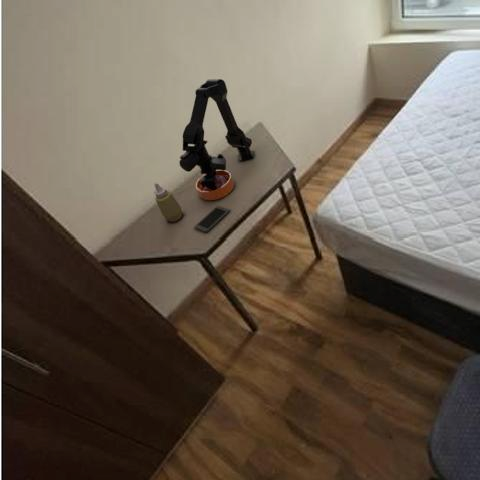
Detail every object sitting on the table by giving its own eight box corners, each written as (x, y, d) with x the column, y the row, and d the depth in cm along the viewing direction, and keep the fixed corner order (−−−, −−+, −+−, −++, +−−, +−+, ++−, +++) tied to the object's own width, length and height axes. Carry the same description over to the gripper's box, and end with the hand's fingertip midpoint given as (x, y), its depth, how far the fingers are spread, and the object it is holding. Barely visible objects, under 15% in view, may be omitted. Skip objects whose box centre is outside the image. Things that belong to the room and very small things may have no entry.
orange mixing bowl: (201, 183, 185) (197, 175, 181) (234, 175, 184) (230, 166, 181) (199, 204, 173) (194, 195, 170) (234, 195, 173) (230, 186, 169)
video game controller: (229, 189, 179) (226, 173, 177) (225, 191, 175) (221, 175, 173) (208, 191, 181) (205, 175, 179) (204, 193, 177) (201, 177, 175)
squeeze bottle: (168, 226, 166) (147, 192, 153) (164, 216, 171) (144, 183, 159) (186, 218, 168) (167, 184, 155) (182, 208, 173) (163, 174, 161)
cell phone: (194, 228, 161) (193, 226, 161) (217, 207, 169) (217, 205, 168) (206, 233, 158) (206, 231, 157) (230, 211, 165) (229, 209, 165)
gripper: (220, 164, 160) (233, 194, 171) (221, 141, 174) (233, 171, 184) (193, 171, 160) (208, 201, 171) (197, 148, 174) (210, 177, 184)
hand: (216, 186), depth 178 cm, fingers open, 8 cm apart
